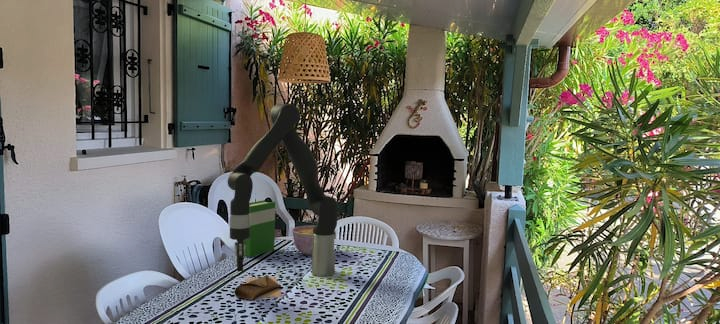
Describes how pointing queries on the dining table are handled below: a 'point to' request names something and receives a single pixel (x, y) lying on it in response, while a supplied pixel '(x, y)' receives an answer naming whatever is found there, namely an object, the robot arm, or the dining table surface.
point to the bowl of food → (303, 239)
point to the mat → (270, 294)
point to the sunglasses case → (256, 288)
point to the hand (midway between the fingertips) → (240, 270)
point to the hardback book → (261, 228)
